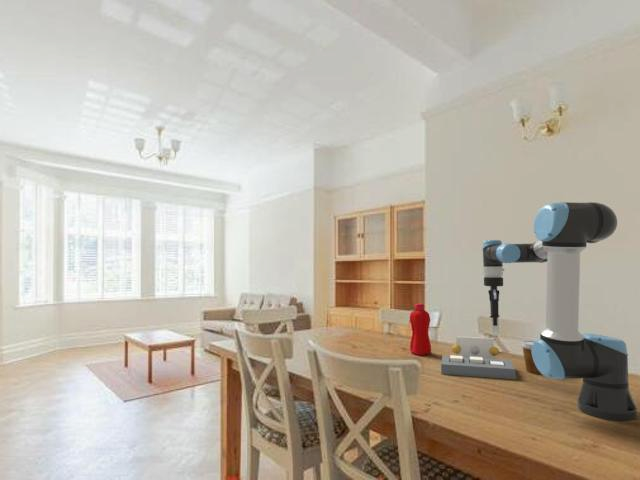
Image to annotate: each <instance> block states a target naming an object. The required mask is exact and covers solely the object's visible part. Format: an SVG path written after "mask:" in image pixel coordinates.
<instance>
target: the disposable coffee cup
mask: <svg viewBox="0 0 640 480" xmlns="http://www.w3.org/2000/svg"><path fill="white" fill-rule="evenodd" d="M534 341H535V340H524V341H522V342H521V343H522V344H521V348H522V352H523V358H524V363H525V364H524V365H525V369H526V370H525V371H526V372H527V373H530V374H535V375H542V374H541V373H540V371H539V370H538V369H537V367H536V365H535V363H534V361H533V357H532V352H531V348H532V344H533V342H534Z"/></svg>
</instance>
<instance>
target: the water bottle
mask: <svg viewBox="0 0 640 480" xmlns="http://www.w3.org/2000/svg"><path fill="white" fill-rule="evenodd" d="M414 306H415V307H414V310H412V311H411V312H410V314H409V321H408V324H410V327H411V329H410V328H408V330H409V331H411V333H412V334H411V339H410V343H409V344H410V345H409V349H410V352H411V353H412V354H414V355H416V356H424V355H425V356H427V355H430V354H431V353H432V345H431V341H430V336H429V328H430V323H431V317H430V316H431V315H430V313H429V312H428V311H427V310H425V305H424V304H423V303H415V305H414Z"/></svg>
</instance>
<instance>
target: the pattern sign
mask: <svg viewBox="0 0 640 480" xmlns="http://www.w3.org/2000/svg"><path fill="white" fill-rule="evenodd" d="M455 337H456V338H455V342H456V343H455V344H454V345H452V347H451V351H452V352H453V353H454V354H456V356H463V357H470V356H471V357H482V358H494V359H495V357H496V356H498V355H499V352H500V351H499V350H500V349H499V348H498V347H497V346H495V342H494V341H495V340H494V338H491V337H475V336H474V337H472V336H455Z"/></svg>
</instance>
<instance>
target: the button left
mask: <svg viewBox="0 0 640 480" xmlns="http://www.w3.org/2000/svg"><path fill="white" fill-rule="evenodd" d="M449 356H450V362H461V363H463V356H457V355H453V354H450V355H449Z"/></svg>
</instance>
